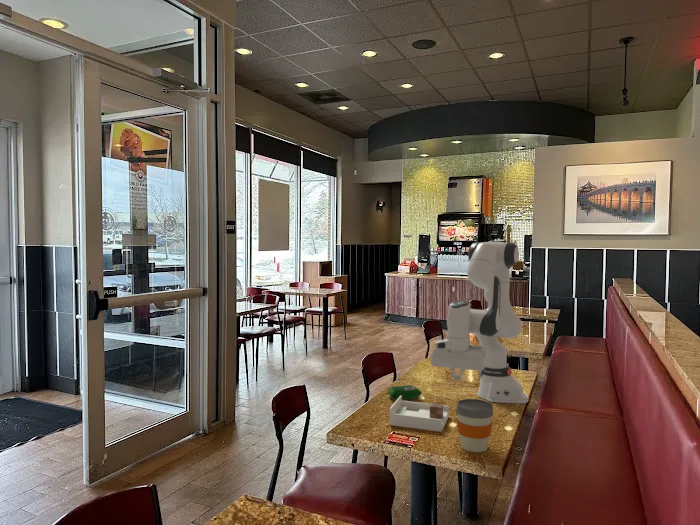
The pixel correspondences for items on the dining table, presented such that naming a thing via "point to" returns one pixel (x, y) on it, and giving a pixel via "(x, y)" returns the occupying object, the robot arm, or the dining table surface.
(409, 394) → the snack package
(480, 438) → the reusable coffee cup
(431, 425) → the box
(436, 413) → the walnut cube
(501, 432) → the dining table surface
